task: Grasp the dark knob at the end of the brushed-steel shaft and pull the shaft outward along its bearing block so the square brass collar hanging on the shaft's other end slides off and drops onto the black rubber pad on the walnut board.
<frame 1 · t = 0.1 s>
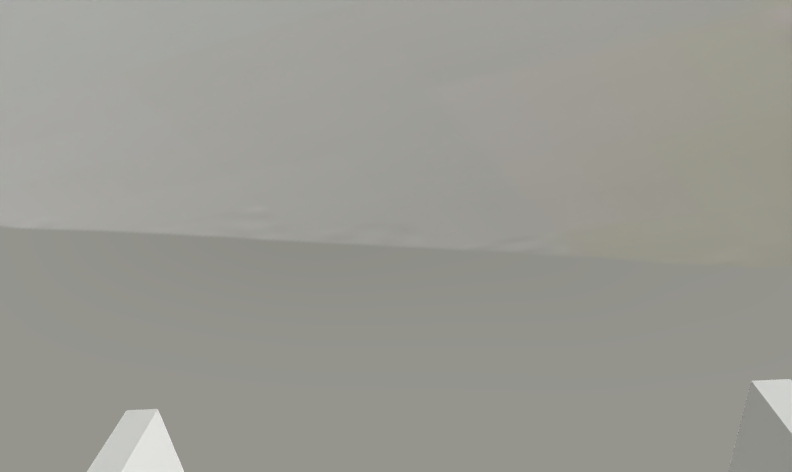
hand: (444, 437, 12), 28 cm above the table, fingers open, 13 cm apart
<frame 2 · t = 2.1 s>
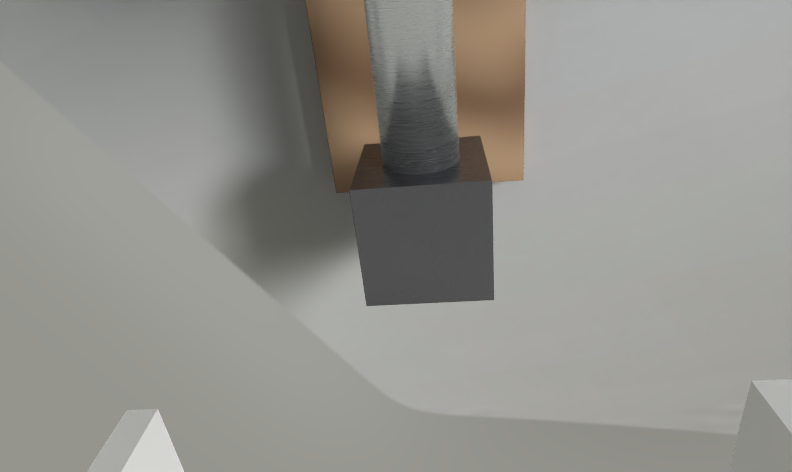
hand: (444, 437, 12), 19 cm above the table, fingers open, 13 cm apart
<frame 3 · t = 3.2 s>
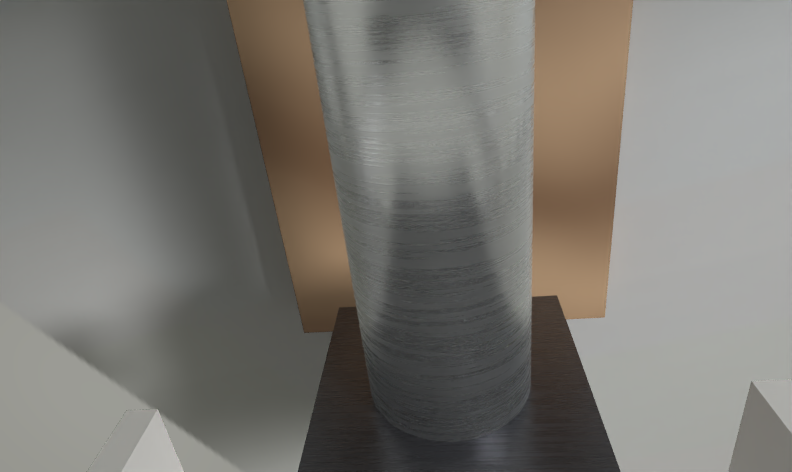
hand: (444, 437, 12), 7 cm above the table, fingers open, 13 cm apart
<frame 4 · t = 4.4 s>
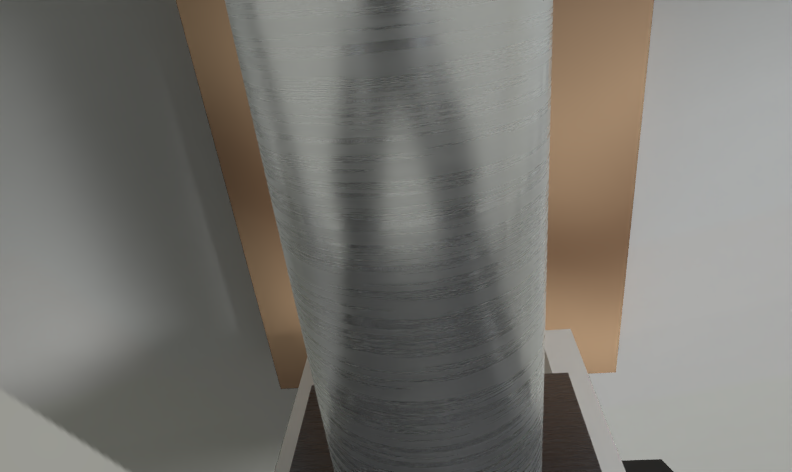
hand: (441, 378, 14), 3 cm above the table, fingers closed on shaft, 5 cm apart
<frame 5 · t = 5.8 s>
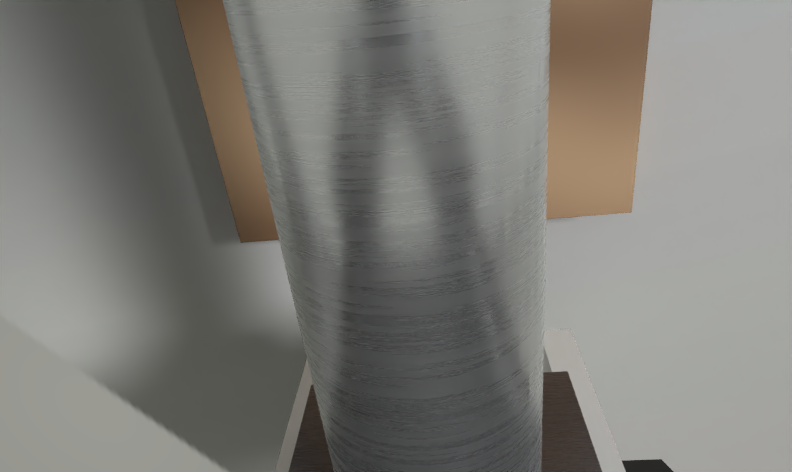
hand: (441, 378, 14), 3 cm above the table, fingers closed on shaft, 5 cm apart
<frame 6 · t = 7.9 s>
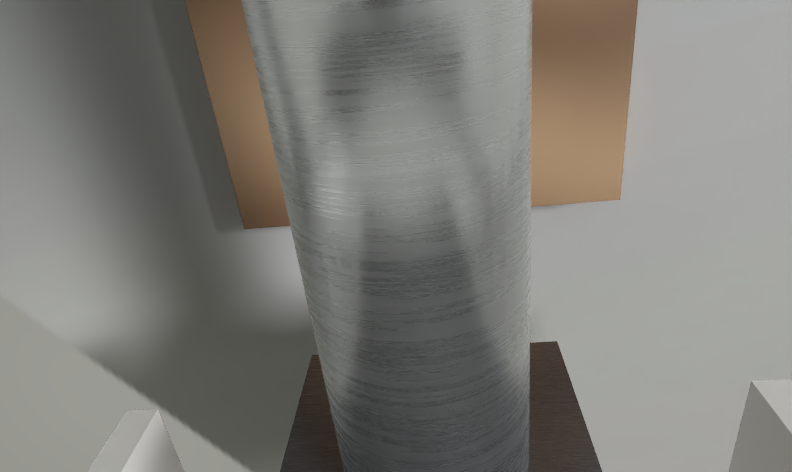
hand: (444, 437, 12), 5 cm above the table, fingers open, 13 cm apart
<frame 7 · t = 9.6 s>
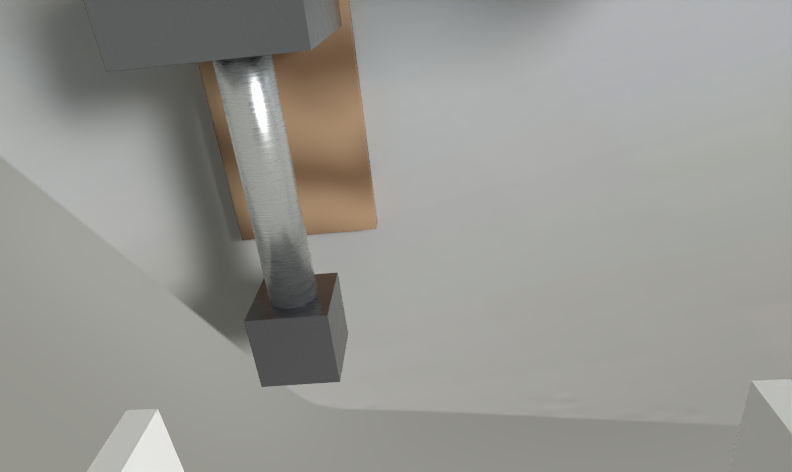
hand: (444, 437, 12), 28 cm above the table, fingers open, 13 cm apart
shaft: (269, 184, 31), point 8 cm above the table, slide at 5.0 cm
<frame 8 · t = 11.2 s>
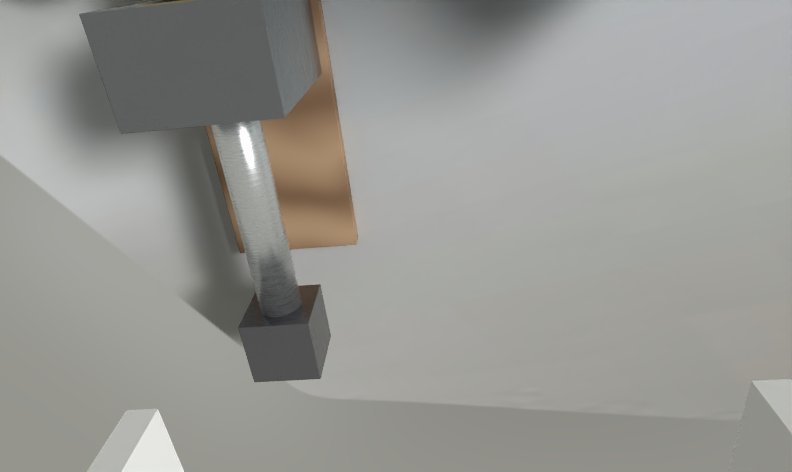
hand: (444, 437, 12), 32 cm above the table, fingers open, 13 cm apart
bearing block: (256, 33, 39), resting on walnut board
shaft: (258, 213, 37), point 8 cm above the table, slide at 5.0 cm
walnut board: (256, 33, 39), on the table
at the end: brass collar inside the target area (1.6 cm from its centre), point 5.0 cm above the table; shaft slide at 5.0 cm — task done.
